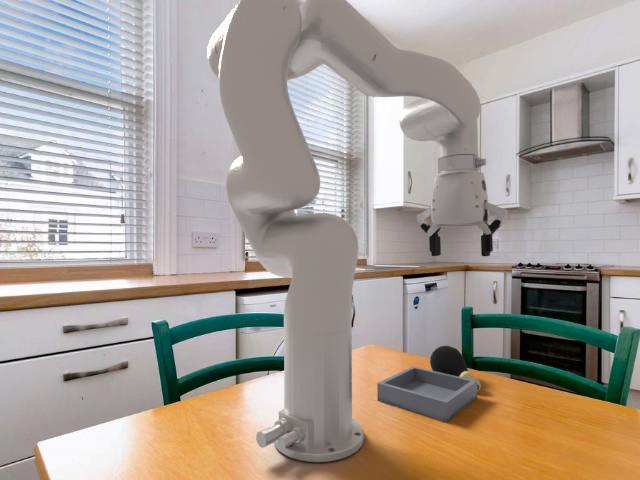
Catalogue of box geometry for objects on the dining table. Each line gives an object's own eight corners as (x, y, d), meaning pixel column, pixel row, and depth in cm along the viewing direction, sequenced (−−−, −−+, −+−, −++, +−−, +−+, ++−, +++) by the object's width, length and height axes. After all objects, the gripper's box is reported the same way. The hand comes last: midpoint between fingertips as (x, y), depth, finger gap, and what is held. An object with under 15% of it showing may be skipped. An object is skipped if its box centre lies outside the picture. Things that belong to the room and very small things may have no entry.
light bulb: (484, 364, 69) (444, 334, 80) (455, 386, 68) (419, 353, 79) (496, 389, 71) (456, 356, 82) (468, 411, 70) (431, 375, 82)
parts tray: (446, 422, 58) (446, 402, 58) (377, 400, 67) (377, 383, 67) (477, 397, 68) (477, 380, 68) (412, 381, 76) (412, 366, 76)
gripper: (510, 164, 72) (513, 255, 72) (424, 176, 83) (426, 255, 83) (500, 158, 66) (502, 257, 66) (408, 171, 77) (410, 256, 77)
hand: (460, 255), depth 75 cm, fingers open, 9 cm apart
